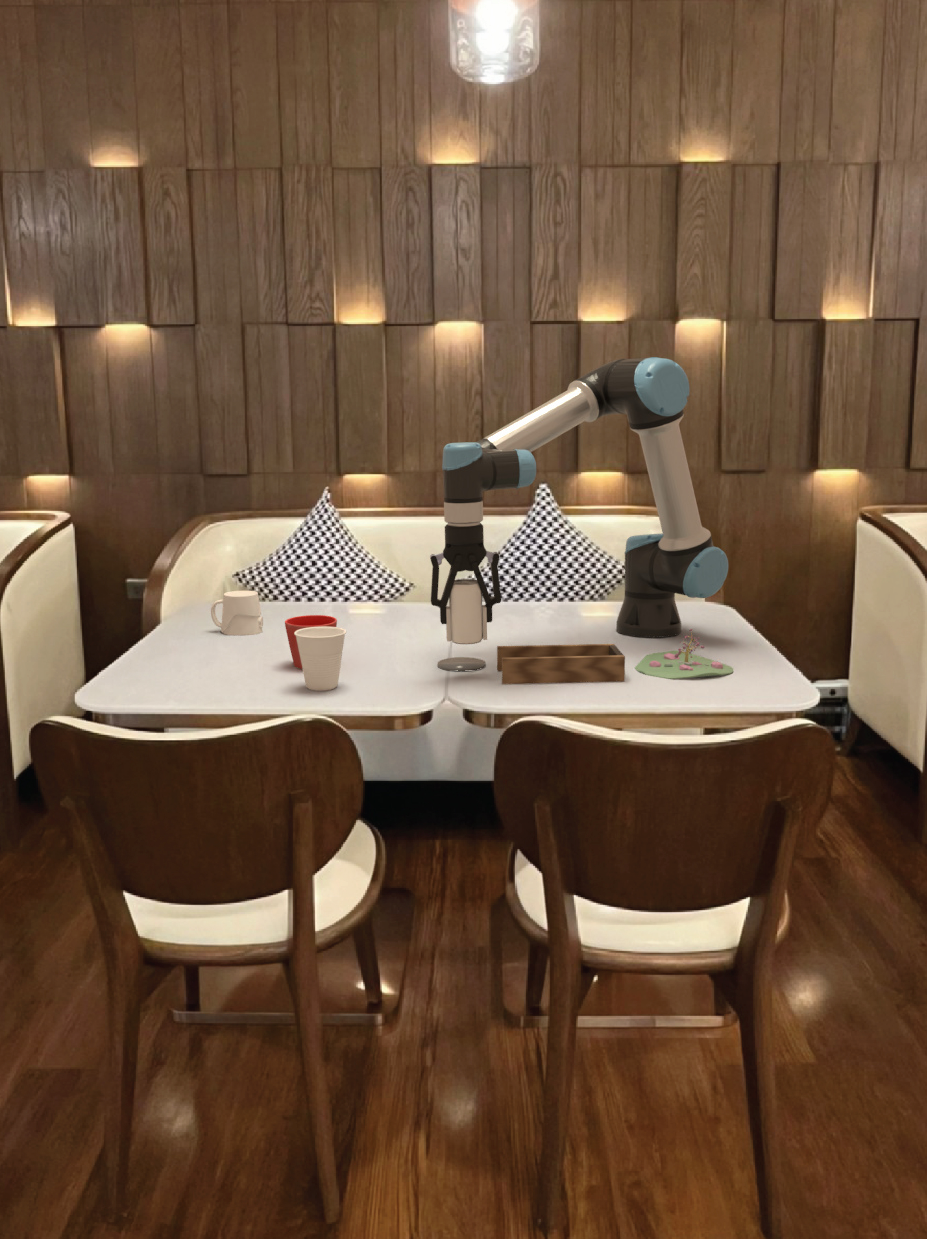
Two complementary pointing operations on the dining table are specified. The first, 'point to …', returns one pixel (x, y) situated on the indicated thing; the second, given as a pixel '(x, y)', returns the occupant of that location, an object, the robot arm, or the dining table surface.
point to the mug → (239, 613)
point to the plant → (681, 664)
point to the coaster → (461, 664)
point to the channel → (560, 663)
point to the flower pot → (301, 623)
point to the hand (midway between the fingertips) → (466, 638)
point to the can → (466, 612)
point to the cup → (320, 656)
